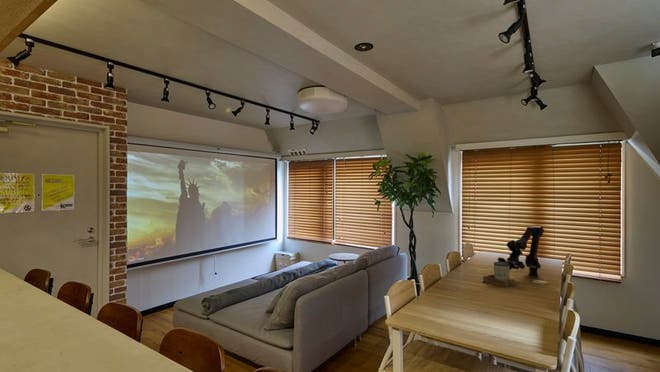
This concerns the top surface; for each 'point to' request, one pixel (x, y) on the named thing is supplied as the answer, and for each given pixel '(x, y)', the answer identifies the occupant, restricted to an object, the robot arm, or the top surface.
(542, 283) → the cork mat
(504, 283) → the walnut holder
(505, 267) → the coffee can
